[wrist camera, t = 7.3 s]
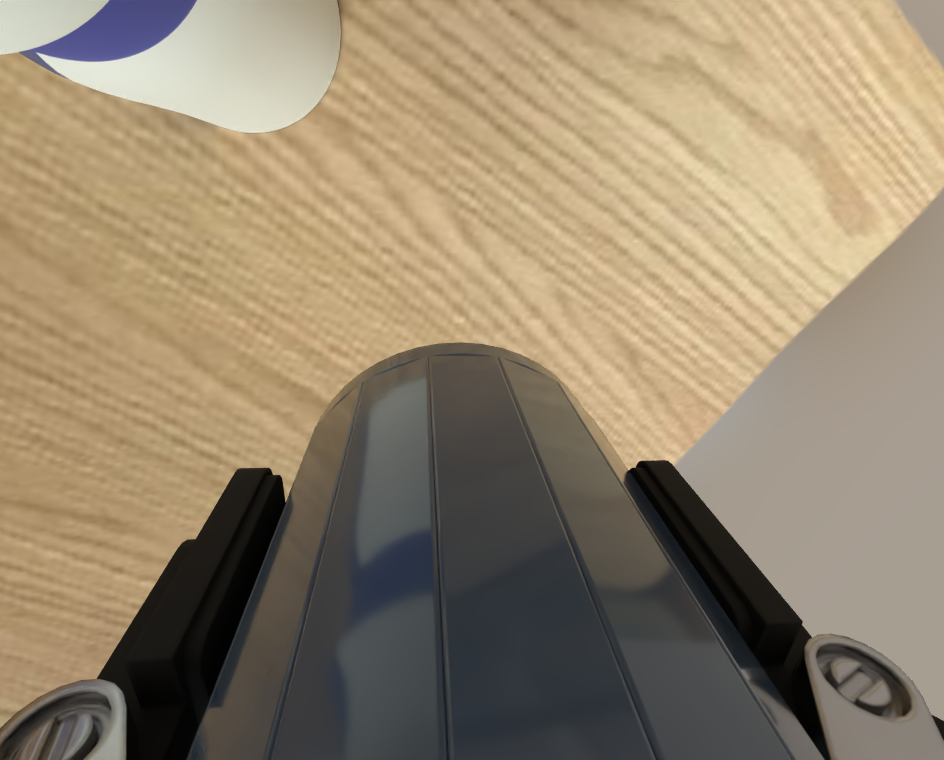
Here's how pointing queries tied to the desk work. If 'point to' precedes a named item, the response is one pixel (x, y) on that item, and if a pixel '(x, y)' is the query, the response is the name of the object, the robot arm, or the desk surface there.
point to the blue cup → (481, 592)
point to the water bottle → (187, 53)
